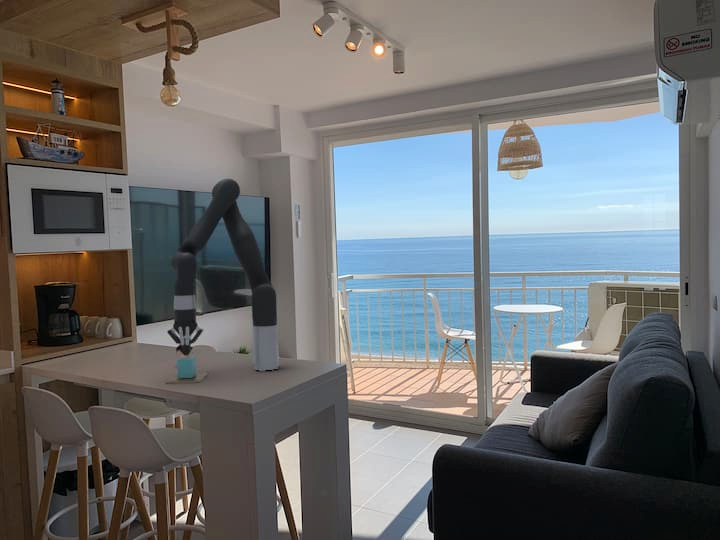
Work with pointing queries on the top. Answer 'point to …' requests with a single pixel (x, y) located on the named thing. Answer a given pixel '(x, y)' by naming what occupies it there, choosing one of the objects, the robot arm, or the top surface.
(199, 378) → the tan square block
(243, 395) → the top surface
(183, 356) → the grandmother figurine
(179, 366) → the turquoise rectangular block
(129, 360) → the top surface
